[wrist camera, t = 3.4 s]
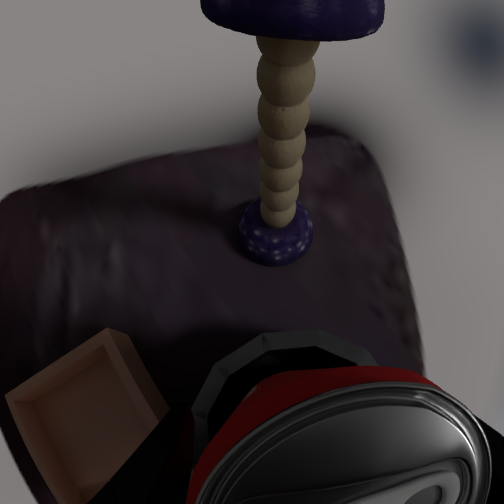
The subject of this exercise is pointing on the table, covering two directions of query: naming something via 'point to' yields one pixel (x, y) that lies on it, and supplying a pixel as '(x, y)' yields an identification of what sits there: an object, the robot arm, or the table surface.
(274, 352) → the steel collar
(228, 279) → the table surface
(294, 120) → the toy lamp
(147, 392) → the terracotta tray
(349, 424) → the beverage can
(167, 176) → the table surface
